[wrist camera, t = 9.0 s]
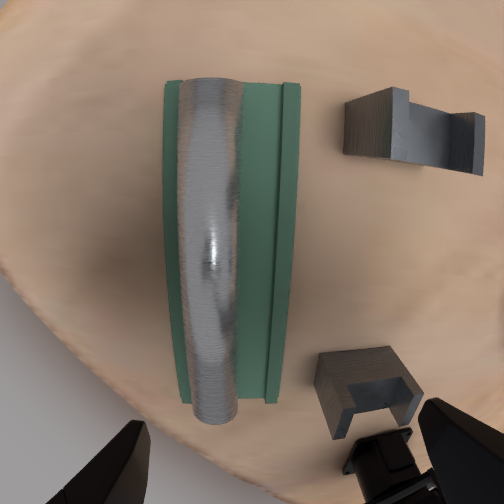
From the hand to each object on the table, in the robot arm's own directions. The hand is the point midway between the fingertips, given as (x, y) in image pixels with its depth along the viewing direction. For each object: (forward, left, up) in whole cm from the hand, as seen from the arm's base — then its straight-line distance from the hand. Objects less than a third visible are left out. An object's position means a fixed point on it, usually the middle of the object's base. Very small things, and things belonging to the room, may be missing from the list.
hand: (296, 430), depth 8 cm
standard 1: (+9, -7, -11) cm, 16 cm away
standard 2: (-7, -7, -11) cm, 15 cm away
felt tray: (+1, +2, -11) cm, 11 cm away
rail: (+1, +2, -10) cm, 10 cm away
